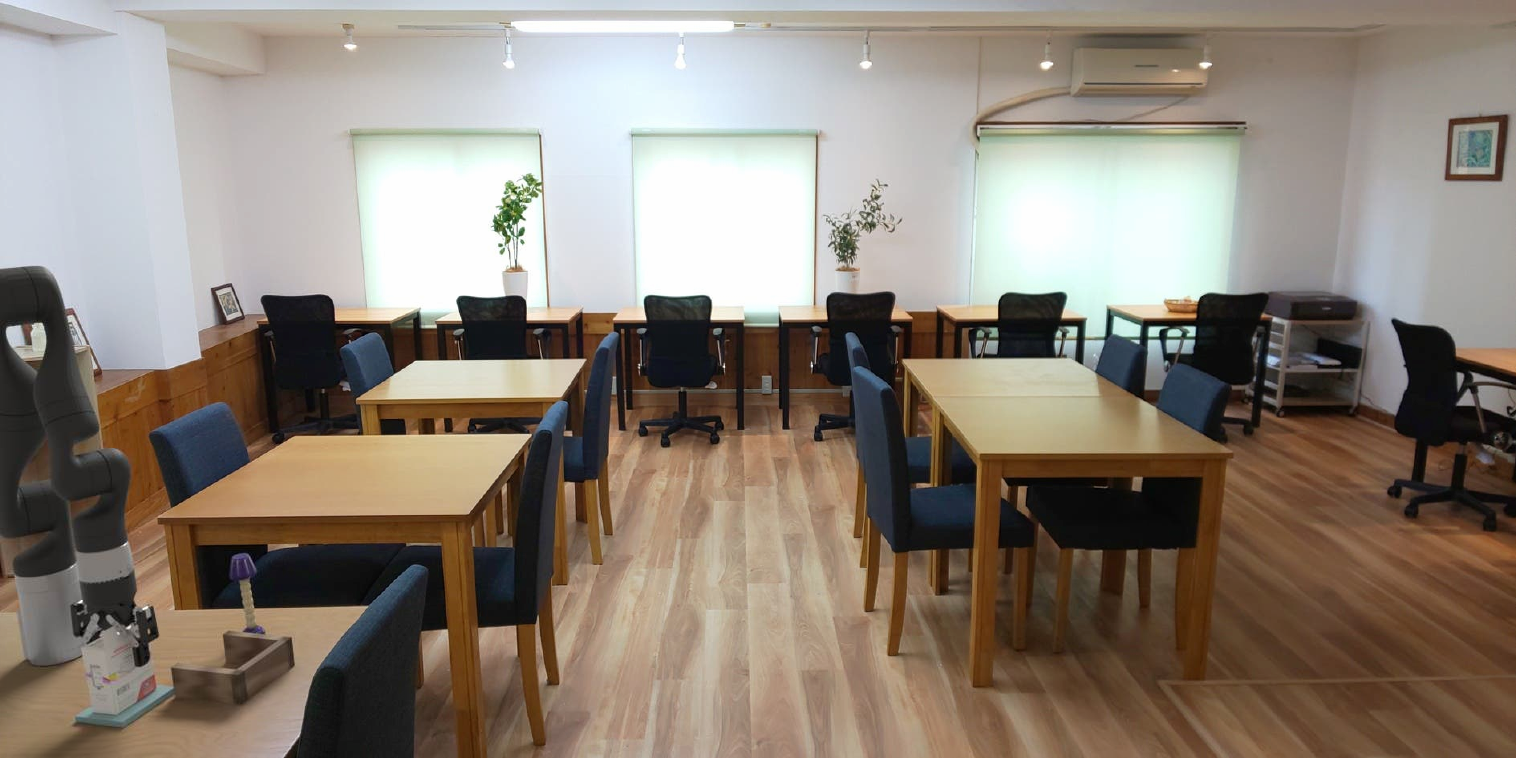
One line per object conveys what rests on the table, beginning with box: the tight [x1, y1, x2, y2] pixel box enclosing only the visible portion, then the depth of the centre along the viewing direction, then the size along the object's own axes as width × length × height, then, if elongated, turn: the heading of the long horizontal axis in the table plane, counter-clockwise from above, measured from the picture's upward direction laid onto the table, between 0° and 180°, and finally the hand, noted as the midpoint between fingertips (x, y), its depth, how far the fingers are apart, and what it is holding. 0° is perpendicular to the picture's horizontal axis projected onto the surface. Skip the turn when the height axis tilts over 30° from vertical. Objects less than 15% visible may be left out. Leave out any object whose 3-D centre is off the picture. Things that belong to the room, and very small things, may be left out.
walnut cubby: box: [170, 630, 296, 706], centre depth 169 cm, size 13×14×6 cm
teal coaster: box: [74, 684, 175, 729], centre depth 162 cm, size 9×11×1 cm
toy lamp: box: [229, 552, 266, 635], centre depth 184 cm, size 5×5×17 cm
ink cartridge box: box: [81, 623, 157, 715], centre depth 160 cm, size 9×5×15 cm, turn 169°
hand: (120, 662), depth 160 cm, fingers open, 8 cm apart
